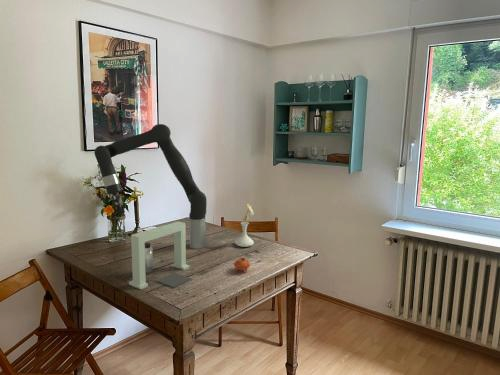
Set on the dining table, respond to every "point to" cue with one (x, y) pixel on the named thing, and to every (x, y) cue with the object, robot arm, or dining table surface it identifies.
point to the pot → (242, 264)
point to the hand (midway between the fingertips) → (122, 214)
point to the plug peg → (148, 258)
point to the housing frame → (151, 234)
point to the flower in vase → (244, 239)
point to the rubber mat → (174, 280)
